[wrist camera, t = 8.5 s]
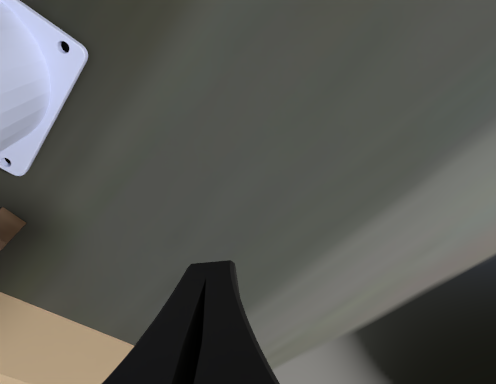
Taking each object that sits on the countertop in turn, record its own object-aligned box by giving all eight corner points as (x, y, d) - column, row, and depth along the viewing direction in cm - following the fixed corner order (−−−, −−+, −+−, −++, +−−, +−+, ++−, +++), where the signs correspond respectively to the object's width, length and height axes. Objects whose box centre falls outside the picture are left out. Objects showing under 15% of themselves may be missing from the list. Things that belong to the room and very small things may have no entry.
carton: (-28, 349, 26) (-83, 421, 21) (1, 289, 23) (-55, 357, 19) (100, 393, 29) (74, 465, 24) (138, 344, 26) (118, 415, 22)
